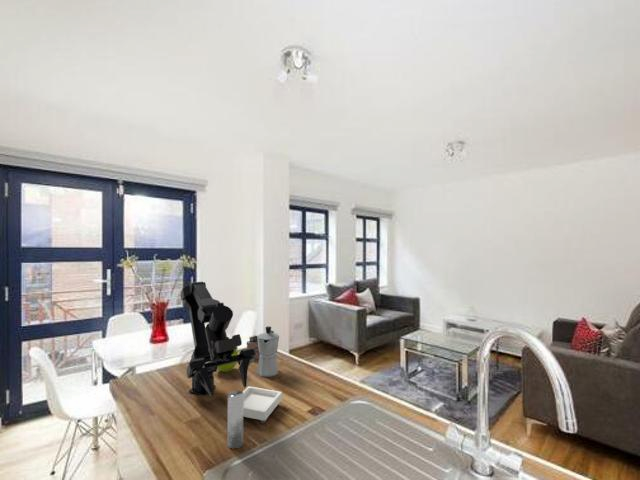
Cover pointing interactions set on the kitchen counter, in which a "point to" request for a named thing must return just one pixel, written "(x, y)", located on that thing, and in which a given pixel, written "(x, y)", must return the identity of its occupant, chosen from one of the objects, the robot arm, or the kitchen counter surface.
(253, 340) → the lighter
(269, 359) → the coffee maker
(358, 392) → the kitchen counter surface
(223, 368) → the fruit
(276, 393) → the white square tray
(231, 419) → the cylinder
